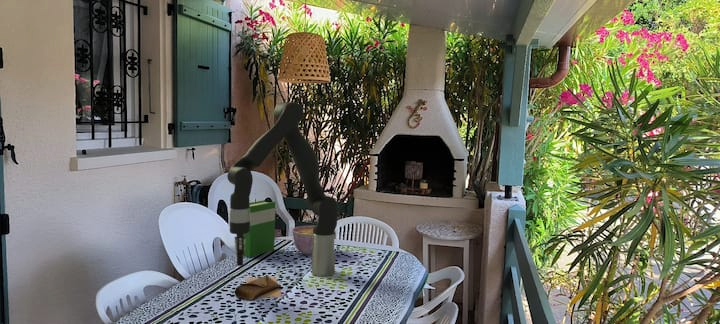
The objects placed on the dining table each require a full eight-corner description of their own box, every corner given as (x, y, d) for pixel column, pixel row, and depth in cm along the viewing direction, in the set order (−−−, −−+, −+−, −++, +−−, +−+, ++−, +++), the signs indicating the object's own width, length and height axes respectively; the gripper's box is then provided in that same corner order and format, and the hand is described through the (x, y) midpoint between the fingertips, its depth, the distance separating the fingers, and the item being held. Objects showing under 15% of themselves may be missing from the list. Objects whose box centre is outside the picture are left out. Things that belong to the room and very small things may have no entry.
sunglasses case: (252, 299, 173) (245, 282, 174) (239, 306, 176) (232, 288, 177) (283, 285, 189) (276, 269, 190) (270, 291, 192) (263, 276, 193)
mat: (275, 278, 200) (275, 277, 200) (281, 297, 179) (281, 296, 179) (245, 279, 197) (245, 278, 197) (248, 299, 176) (248, 298, 176)
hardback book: (262, 247, 247) (263, 200, 245) (274, 249, 243) (275, 201, 241) (237, 254, 232) (238, 204, 230) (249, 257, 228) (250, 206, 226)
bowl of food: (330, 259, 230) (331, 235, 229) (288, 257, 230) (288, 233, 229) (333, 248, 249) (334, 226, 249) (294, 247, 250) (295, 224, 249)
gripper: (251, 223, 178) (251, 269, 180) (249, 216, 191) (249, 259, 193) (229, 224, 176) (230, 271, 178) (229, 216, 189) (229, 260, 191)
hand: (240, 265), depth 185 cm, fingers closed
